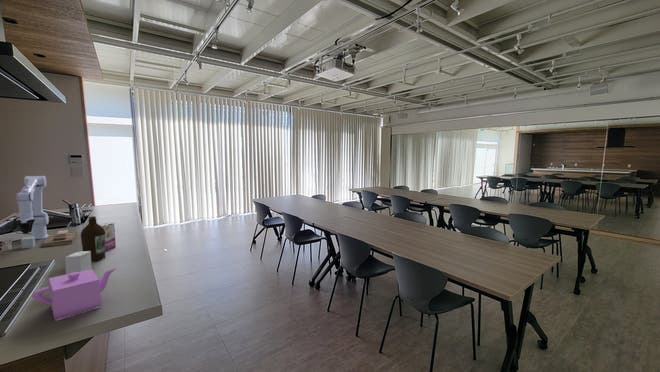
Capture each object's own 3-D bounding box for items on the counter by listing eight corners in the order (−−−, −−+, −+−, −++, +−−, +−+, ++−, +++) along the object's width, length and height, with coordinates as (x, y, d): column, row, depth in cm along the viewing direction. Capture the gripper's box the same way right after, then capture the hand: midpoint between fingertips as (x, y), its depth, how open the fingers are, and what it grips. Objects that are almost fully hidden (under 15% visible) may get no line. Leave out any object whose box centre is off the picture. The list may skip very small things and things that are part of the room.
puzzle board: (50, 237, 193) (49, 231, 193) (76, 235, 202) (76, 229, 201) (42, 247, 174) (42, 240, 174) (72, 243, 183) (71, 237, 182)
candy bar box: (108, 247, 178) (107, 222, 176) (116, 247, 178) (114, 222, 176) (93, 252, 167) (91, 226, 165) (101, 253, 167) (99, 227, 165)
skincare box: (81, 288, 123) (79, 256, 121) (66, 289, 122) (63, 257, 120) (93, 280, 131) (91, 250, 130) (78, 280, 130) (76, 250, 128)
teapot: (123, 301, 113) (121, 268, 112) (34, 328, 94) (31, 289, 93) (114, 289, 123) (112, 259, 122) (32, 311, 104) (29, 276, 103)
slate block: (23, 246, 174) (23, 237, 174) (35, 245, 177) (34, 236, 177) (21, 248, 170) (20, 239, 170) (33, 247, 173) (32, 238, 173)
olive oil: (77, 262, 151) (74, 218, 149) (92, 255, 162) (90, 214, 159) (96, 263, 151) (94, 219, 149) (111, 256, 162) (109, 215, 160)
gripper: (19, 210, 175) (21, 230, 176) (13, 213, 164) (14, 235, 165) (35, 209, 179) (37, 229, 180) (30, 212, 168) (31, 233, 169)
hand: (27, 232), depth 173 cm, fingers open, 7 cm apart
